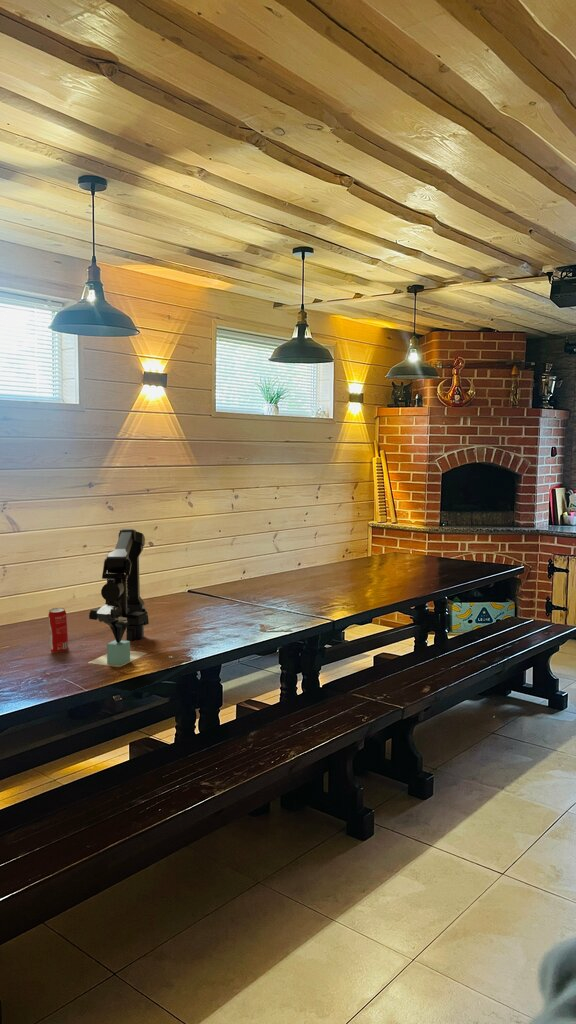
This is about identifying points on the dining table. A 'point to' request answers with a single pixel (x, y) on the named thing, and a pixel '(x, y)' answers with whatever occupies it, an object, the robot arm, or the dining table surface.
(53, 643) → the beverage can
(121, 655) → the teal rectangular block
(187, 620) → the dining table surface
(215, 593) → the dining table surface
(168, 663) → the dining table surface
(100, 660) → the board
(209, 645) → the dining table surface
